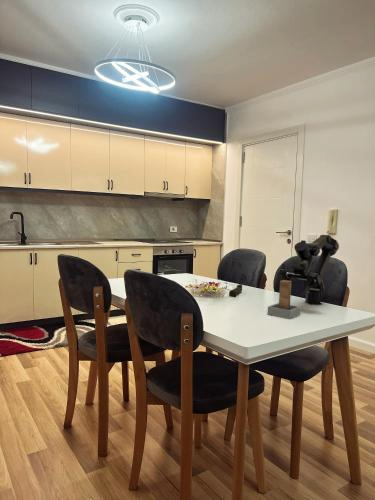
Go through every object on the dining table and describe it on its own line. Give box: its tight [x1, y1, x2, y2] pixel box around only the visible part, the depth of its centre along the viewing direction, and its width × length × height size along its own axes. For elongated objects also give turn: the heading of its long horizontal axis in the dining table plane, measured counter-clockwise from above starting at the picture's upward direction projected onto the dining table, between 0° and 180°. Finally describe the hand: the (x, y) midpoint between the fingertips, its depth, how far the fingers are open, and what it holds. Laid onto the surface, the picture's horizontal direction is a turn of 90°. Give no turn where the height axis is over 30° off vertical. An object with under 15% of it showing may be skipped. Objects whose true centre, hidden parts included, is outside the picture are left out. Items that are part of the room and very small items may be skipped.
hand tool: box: [228, 283, 243, 298], centre depth 206 cm, size 19×4×5 cm, turn 155°
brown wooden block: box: [278, 280, 292, 310], centre depth 163 cm, size 4×4×14 cm
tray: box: [267, 302, 302, 320], centre depth 163 cm, size 10×10×4 cm
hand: (292, 291), depth 169 cm, fingers open, 9 cm apart
